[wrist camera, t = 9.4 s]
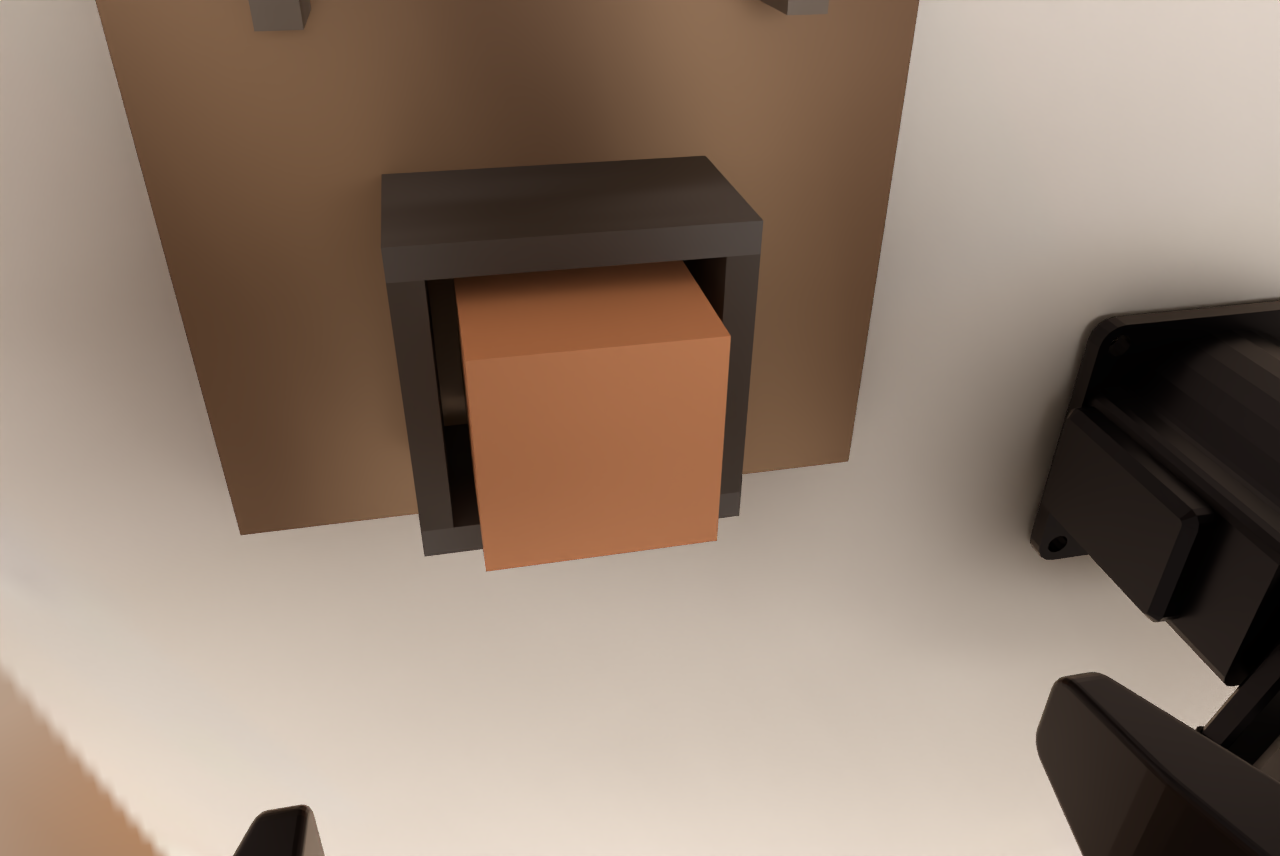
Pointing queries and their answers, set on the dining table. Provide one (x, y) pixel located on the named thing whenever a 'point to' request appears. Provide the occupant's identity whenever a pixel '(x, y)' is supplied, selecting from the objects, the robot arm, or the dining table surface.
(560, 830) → the dining table surface
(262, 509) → the rail mount
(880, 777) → the dining table surface
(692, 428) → the button
